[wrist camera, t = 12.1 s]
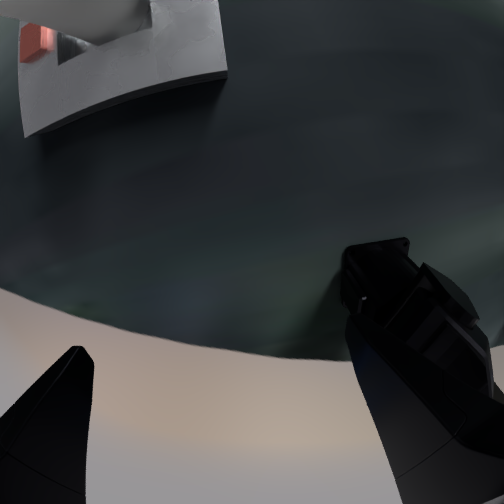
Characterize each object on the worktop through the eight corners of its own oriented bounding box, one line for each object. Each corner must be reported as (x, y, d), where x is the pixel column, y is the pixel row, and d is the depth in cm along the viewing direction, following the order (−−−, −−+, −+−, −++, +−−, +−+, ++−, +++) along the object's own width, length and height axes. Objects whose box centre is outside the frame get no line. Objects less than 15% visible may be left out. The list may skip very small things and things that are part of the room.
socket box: (207, -63, 8) (204, -91, 4) (227, 78, 15) (227, 67, 11) (46, -5, 8) (19, -16, 4) (51, 131, 15) (17, 140, 11)
